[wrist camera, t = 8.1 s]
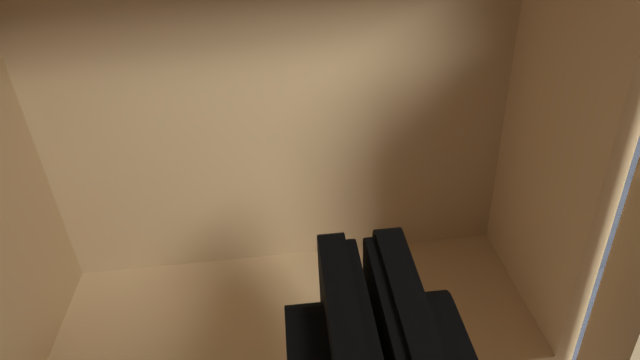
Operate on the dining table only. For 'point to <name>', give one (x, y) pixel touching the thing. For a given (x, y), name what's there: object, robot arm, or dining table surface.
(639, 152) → the dining table surface
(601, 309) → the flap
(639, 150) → the dining table surface
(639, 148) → the dining table surface
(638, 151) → the dining table surface
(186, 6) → the carton
